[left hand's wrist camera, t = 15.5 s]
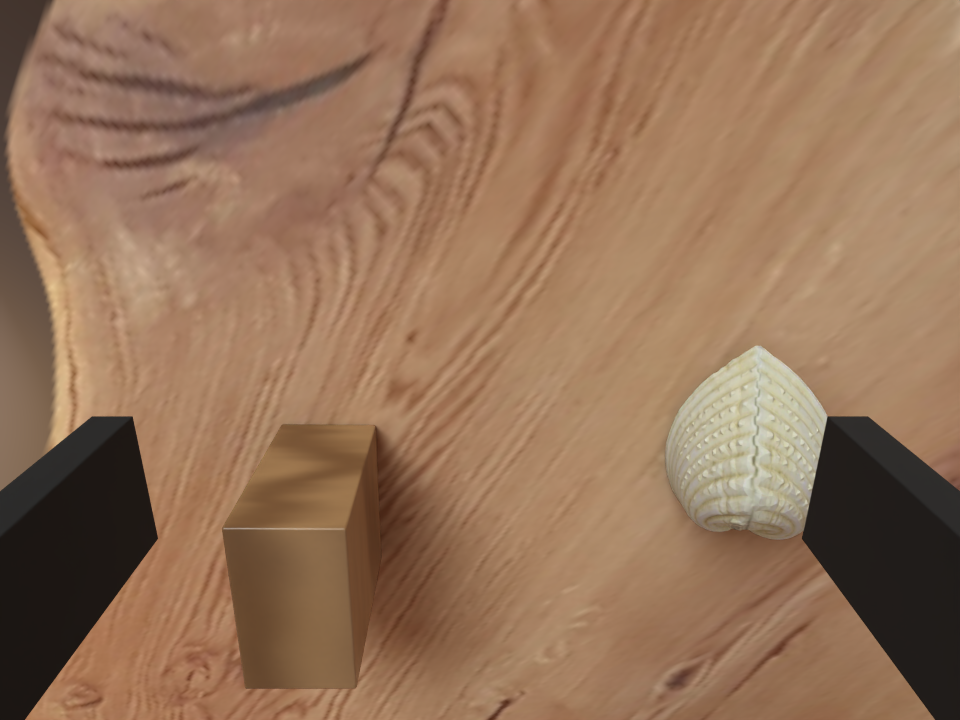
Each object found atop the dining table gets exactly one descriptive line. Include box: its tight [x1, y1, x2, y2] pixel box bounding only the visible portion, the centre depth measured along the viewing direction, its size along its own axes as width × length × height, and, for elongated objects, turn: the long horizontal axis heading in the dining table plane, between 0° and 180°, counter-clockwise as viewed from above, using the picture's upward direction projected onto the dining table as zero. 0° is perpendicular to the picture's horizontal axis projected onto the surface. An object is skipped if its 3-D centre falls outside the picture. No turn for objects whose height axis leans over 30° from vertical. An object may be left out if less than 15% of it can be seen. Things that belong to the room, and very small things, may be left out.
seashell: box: [665, 346, 827, 540], centre depth 33 cm, size 8×8×8 cm
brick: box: [222, 425, 381, 689], centre depth 32 cm, size 5×8×9 cm, turn 179°
